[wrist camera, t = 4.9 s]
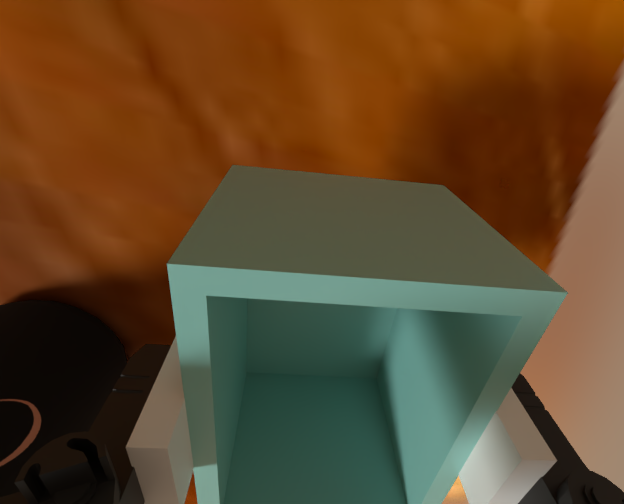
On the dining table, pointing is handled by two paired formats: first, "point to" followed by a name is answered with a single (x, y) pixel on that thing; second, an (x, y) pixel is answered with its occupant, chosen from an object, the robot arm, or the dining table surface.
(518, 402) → the robot arm
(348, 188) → the teal crate
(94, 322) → the coffee jar
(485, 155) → the dining table surface
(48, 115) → the dining table surface
